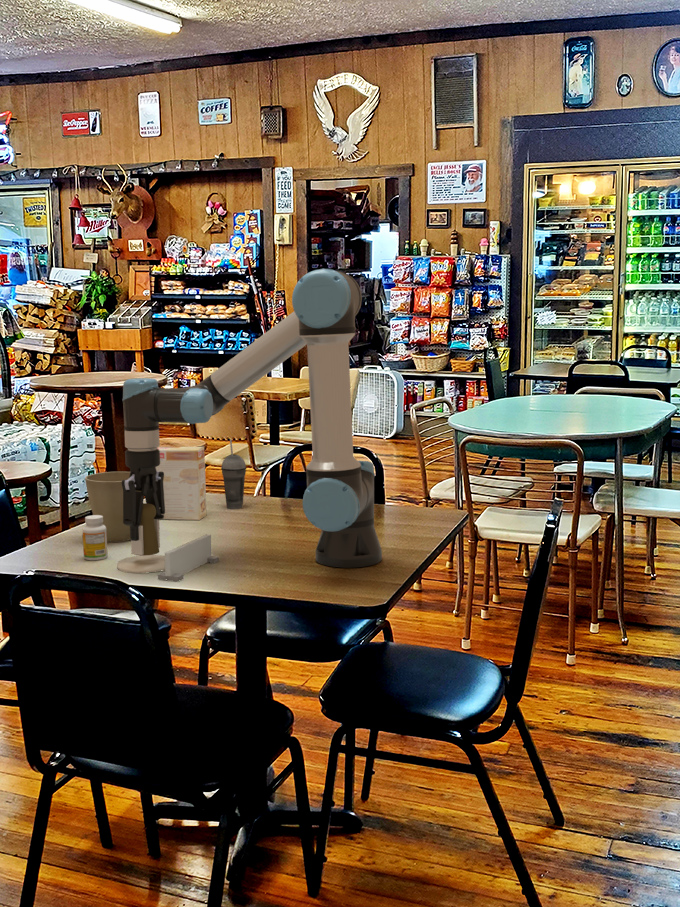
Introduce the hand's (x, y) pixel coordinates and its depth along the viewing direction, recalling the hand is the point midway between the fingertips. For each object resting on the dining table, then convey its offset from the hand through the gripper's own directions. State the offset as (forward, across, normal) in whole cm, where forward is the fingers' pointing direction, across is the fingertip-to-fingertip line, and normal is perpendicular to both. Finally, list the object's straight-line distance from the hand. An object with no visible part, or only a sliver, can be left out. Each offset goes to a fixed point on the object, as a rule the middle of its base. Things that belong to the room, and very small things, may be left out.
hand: (145, 550), depth 216 cm
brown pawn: (+1, 0, 0) cm, 1 cm away
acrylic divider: (+3, 0, +11) cm, 12 cm away
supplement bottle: (+4, -2, -15) cm, 15 cm away
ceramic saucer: (+3, 0, 0) cm, 3 cm away
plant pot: (+4, -20, -21) cm, 29 cm away
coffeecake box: (+4, -47, -20) cm, 51 cm away
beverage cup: (+4, -64, -11) cm, 65 cm away
